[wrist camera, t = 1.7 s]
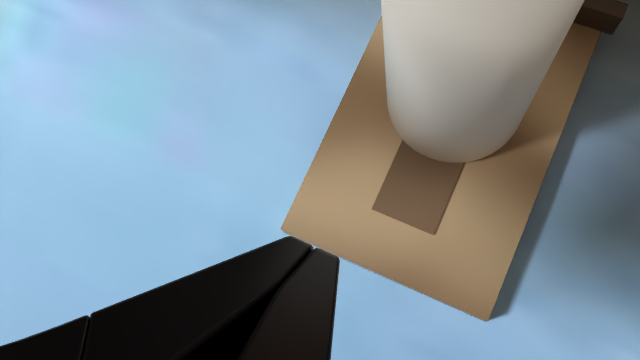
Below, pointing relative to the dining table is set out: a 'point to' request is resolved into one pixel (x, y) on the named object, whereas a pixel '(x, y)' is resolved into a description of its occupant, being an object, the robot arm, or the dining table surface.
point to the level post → (467, 69)
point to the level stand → (437, 182)
